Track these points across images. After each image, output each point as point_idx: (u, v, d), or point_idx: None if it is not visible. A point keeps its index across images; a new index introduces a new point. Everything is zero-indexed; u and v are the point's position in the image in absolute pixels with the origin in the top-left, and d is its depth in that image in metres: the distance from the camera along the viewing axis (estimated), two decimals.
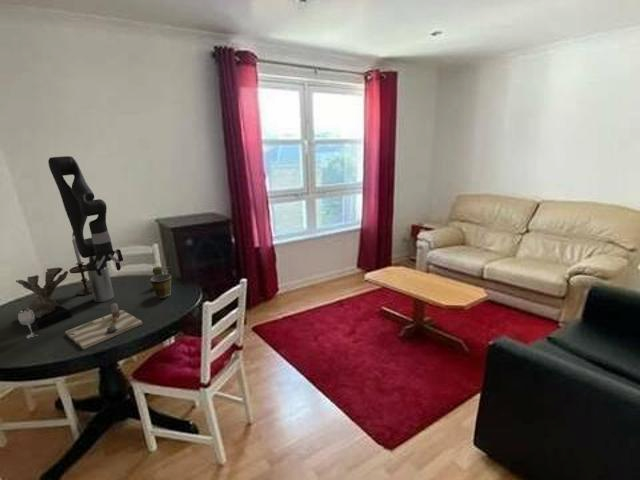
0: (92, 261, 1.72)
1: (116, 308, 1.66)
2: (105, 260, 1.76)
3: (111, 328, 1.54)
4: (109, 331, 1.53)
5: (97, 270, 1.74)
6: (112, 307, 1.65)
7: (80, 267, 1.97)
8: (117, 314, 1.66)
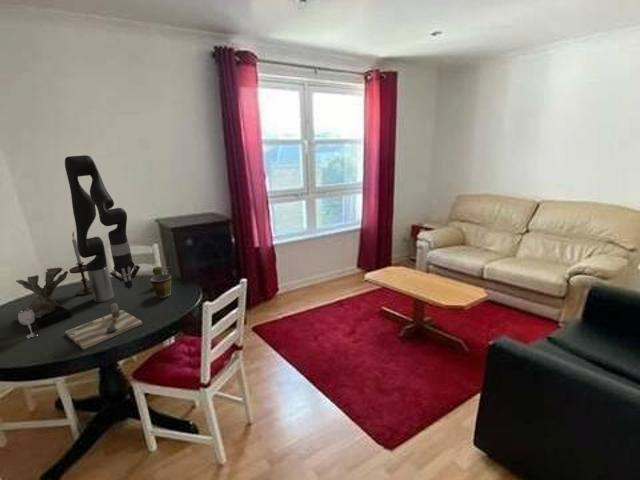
0: (116, 276, 1.63)
1: (116, 308, 1.66)
2: (126, 270, 1.66)
3: (111, 328, 1.54)
4: (109, 331, 1.53)
5: (125, 283, 1.66)
6: (112, 307, 1.65)
7: (80, 267, 1.97)
8: (117, 314, 1.66)
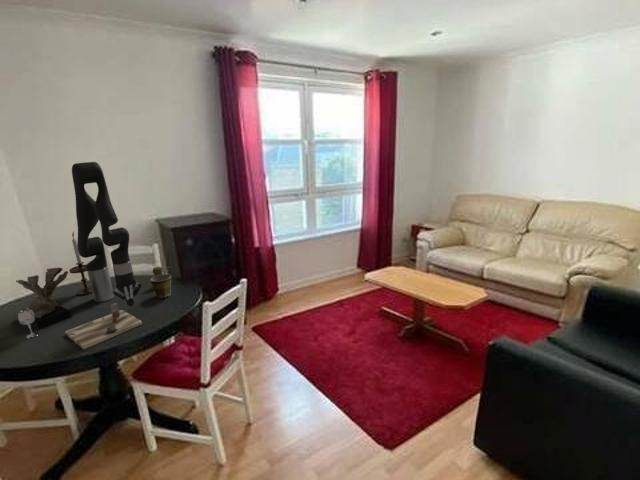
0: (118, 295, 1.65)
1: (116, 308, 1.66)
2: (128, 288, 1.68)
3: (111, 328, 1.54)
4: (109, 331, 1.53)
5: (127, 301, 1.69)
6: (112, 307, 1.65)
7: (80, 267, 1.97)
8: (117, 314, 1.66)
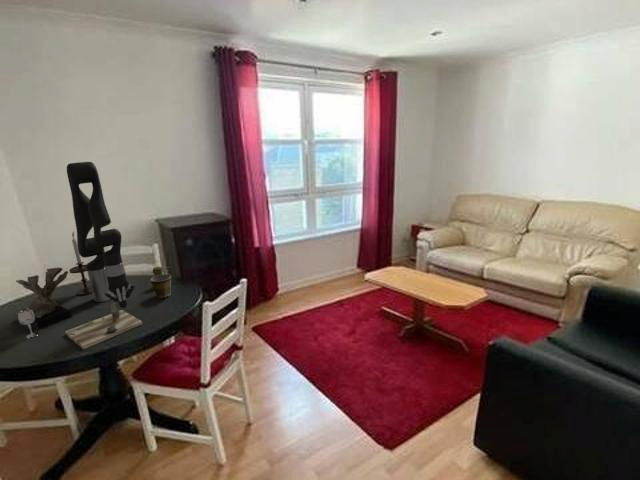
0: (110, 297, 1.63)
1: (116, 308, 1.66)
2: (121, 290, 1.66)
3: (111, 328, 1.54)
4: (109, 331, 1.53)
5: (119, 302, 1.67)
6: (112, 307, 1.65)
7: (80, 267, 1.97)
8: (117, 314, 1.66)
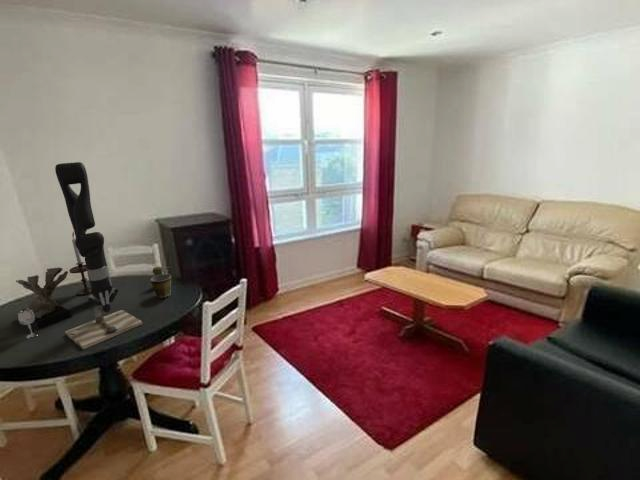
0: (93, 301, 1.60)
1: (100, 312, 1.63)
2: (104, 294, 1.63)
3: (111, 328, 1.55)
4: (111, 331, 1.54)
5: (103, 306, 1.64)
6: (97, 311, 1.61)
7: (80, 267, 1.97)
8: (102, 318, 1.63)
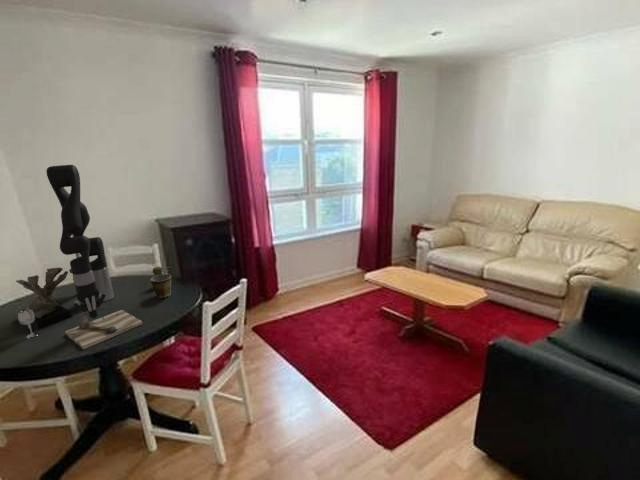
0: (78, 307, 1.55)
1: (87, 317, 1.58)
2: (91, 299, 1.58)
3: (112, 328, 1.55)
4: (113, 330, 1.54)
5: (89, 312, 1.59)
6: (85, 317, 1.57)
7: None
8: None
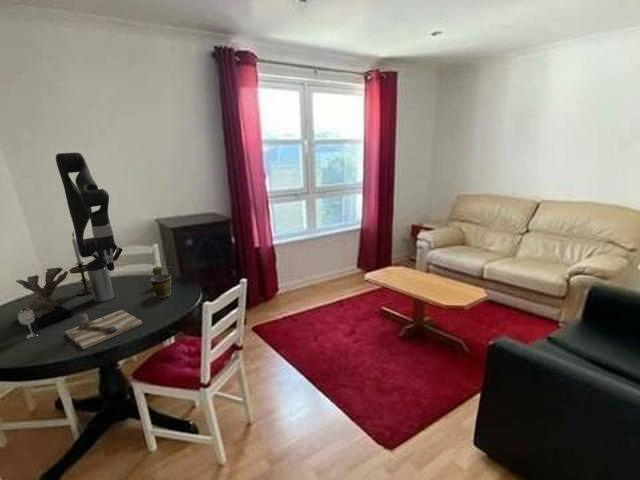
0: (97, 258, 1.62)
1: (87, 317, 1.58)
2: (109, 252, 1.65)
3: (112, 328, 1.55)
4: (113, 330, 1.54)
5: (107, 265, 1.65)
6: (85, 317, 1.57)
7: (80, 267, 1.97)
8: None
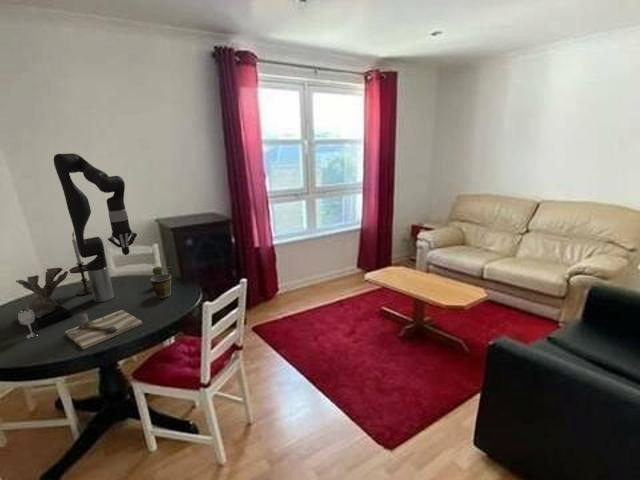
0: (113, 242, 1.69)
1: (87, 317, 1.58)
2: (124, 236, 1.72)
3: (112, 328, 1.55)
4: (113, 330, 1.54)
5: (122, 249, 1.73)
6: (85, 317, 1.57)
7: (80, 267, 1.97)
8: None
